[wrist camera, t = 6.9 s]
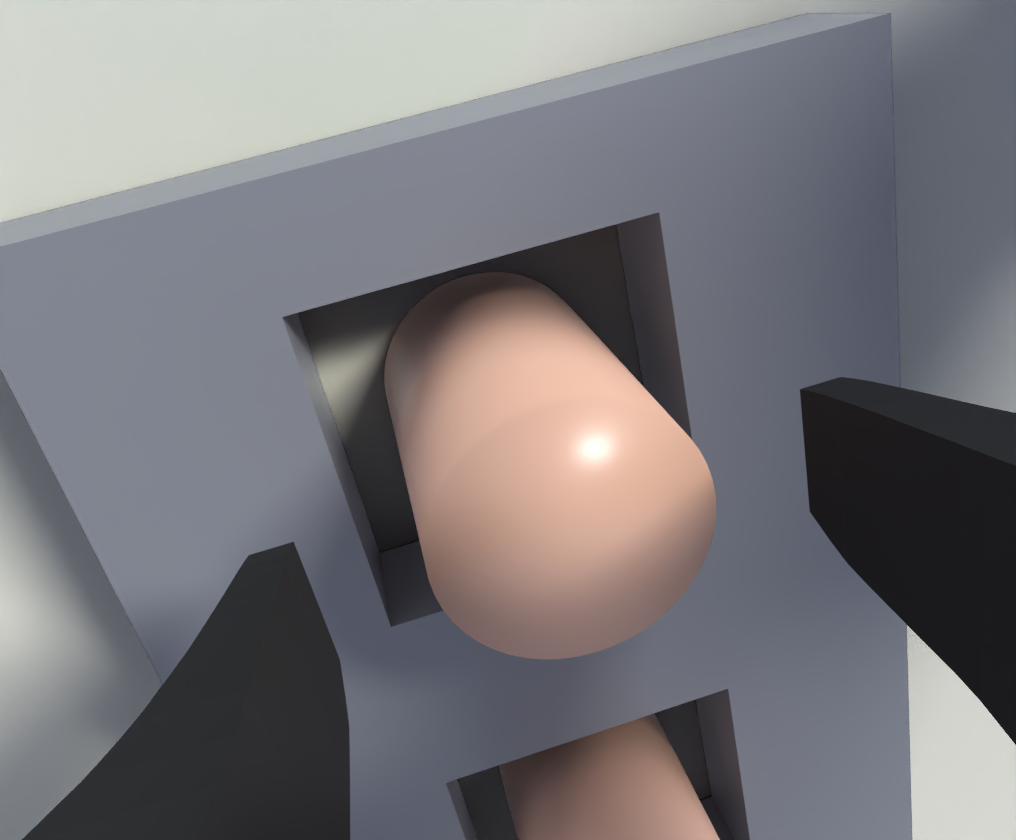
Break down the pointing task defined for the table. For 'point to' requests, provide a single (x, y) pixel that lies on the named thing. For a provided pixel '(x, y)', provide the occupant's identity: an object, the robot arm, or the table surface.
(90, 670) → the table surface
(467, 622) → the pink rounded capsule
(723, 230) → the housing
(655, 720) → the fitted pink peg
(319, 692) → the robot arm
